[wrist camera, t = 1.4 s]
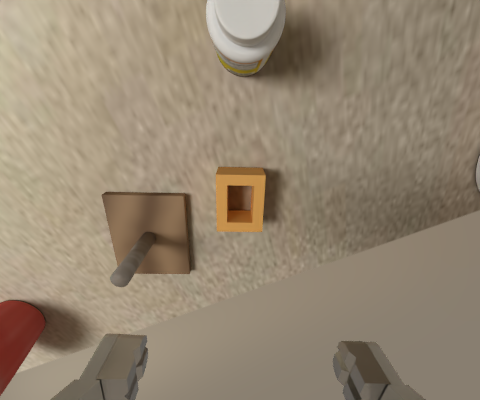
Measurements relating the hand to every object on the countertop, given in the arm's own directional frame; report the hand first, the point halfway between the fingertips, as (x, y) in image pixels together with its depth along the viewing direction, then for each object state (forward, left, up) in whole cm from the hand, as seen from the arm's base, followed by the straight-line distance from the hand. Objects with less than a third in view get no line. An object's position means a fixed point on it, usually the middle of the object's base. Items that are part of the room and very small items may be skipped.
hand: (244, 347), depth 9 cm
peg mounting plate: (+12, +7, -20) cm, 24 cm away
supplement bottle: (0, -15, -21) cm, 26 cm away
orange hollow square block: (0, +1, -20) cm, 20 cm away
